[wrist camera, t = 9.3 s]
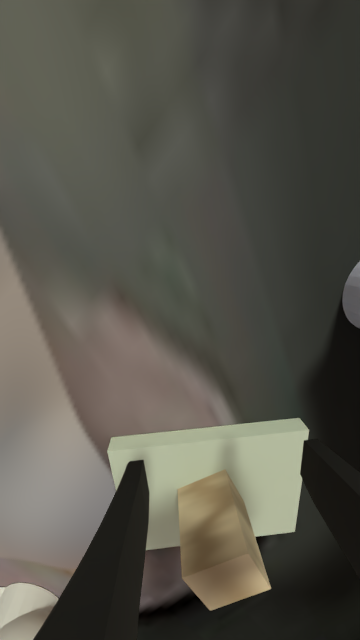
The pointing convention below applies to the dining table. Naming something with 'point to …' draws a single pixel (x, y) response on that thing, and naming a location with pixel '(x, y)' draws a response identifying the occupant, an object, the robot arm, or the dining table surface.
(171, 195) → the dining table surface
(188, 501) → the maple block
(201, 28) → the dining table surface
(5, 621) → the figurine
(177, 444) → the green tile
